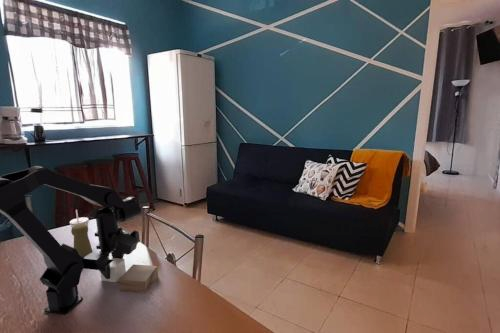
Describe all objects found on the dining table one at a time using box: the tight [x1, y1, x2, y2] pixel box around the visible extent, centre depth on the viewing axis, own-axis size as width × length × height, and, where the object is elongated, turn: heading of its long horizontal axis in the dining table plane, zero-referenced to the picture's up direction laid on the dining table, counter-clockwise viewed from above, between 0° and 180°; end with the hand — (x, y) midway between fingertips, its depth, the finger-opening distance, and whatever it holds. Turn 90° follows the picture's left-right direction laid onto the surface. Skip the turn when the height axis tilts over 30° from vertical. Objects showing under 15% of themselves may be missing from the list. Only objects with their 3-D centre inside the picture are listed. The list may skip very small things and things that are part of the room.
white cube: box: [99, 257, 127, 283], centre depth 89 cm, size 5×5×5 cm
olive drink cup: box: [70, 224, 94, 257], centre depth 102 cm, size 6×6×11 cm
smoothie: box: [69, 209, 90, 236], centre depth 109 cm, size 6×6×14 cm
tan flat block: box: [118, 264, 159, 294], centre depth 85 cm, size 8×8×4 cm
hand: (113, 273), depth 89 cm, fingers closed on white cube, 5 cm apart
